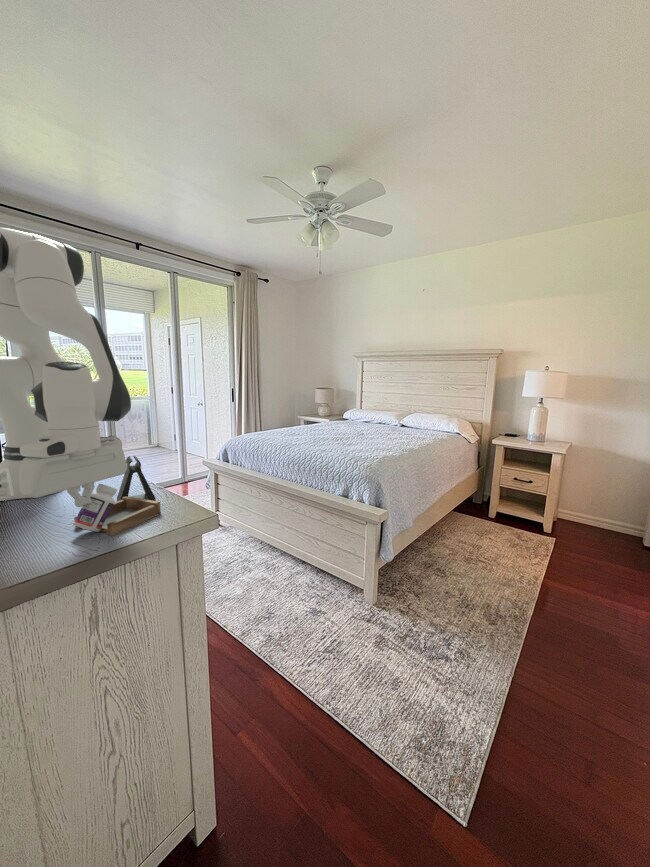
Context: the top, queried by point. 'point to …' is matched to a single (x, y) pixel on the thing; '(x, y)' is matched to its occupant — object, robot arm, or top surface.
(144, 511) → the tray
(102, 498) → the pill bottle
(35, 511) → the top surface
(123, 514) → the mat
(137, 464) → the phone stand
